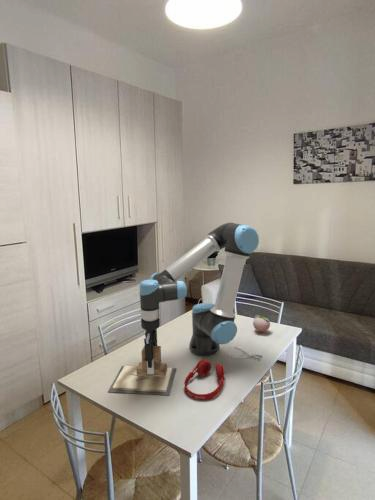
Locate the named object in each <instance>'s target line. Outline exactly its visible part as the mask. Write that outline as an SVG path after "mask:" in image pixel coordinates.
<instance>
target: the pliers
mask: <svg viewBox="0 0 375 500" xmlns="http://www.w3.org/2000/svg"><path fill="white" fill-rule="evenodd" d="M234 349H236V350H240V351H242V354H240V355H238V356H237V355H232V354H231V355H229V354H228V355H227V357H229V358H231V359H232V358H233V359H240V360H242V359H253V360H256V359H257V361H261V359H262V358H263V354H260V353H256V352H255V353H254V352H250V351H249V350H247V349H244V348H241V347H237V346H234Z"/></svg>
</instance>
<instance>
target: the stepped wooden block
mask: <svg viewBox="0 0 375 500" xmlns="http://www.w3.org/2000/svg"><path fill="white" fill-rule="evenodd" d="M161 347H162V346H161V345H157V346H153V359H154V374H147V361H145V344H144V345H143V347H142V349H141V362H138V364H137V369H136V370H137V375H142V376H161V377H165V376H166V372H167V368H168V364H167V363H165V362H163V363H162V348H161Z"/></svg>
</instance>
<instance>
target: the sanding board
mask: <svg viewBox="0 0 375 500" xmlns="http://www.w3.org/2000/svg"><path fill="white" fill-rule="evenodd" d="M137 366H138V365H137ZM137 366H135V365H121V367H120V369H119V371H118V373H117V375H116V376H115V378H114V380H113V382H112V384H111V385H110V387H109V388H108V391H107V393H109V394H110V393H111V394H112V393H113V394H128V395H132V394H133V395H147V396H148V395H151V396H166V397H169V396H170V395H171V392H172V387H173V383H174V379H175V375H176V371H177V368H176V367H167V372H166V376H165V377H161V376H142V375H137V370H136V369H137Z"/></svg>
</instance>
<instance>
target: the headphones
mask: <svg viewBox="0 0 375 500" xmlns="http://www.w3.org/2000/svg"><path fill="white" fill-rule="evenodd" d="M211 370H212V363H211V361H209V360H208V359H204V358H203V359H200V361H199V360H198V363H197V364H196V366H195V367H194V368H193V369H192V371H190V372H189V373H188V374H187V376H186V377H185V380H184V382H183V384H184V390H185V391H184V392H185V394H186V395H187V396H188V397H190V398H191V399H194V400H197V401H207V400H211V399H213V398H215V397H216V396H218V395H219V393H220V392H221V390H222V388H223V386H224V382H225V381H226V378H225V369H224V364H223V363H222V364H221V363H220V362H219V363H217V362H216V364H215V373H216V379H217V381H218V386H217V387H216V388H215V389H214V390H213V391H211V392H208V393H205V394H204V393H202V394H201V393H195V392H192V391H191V390H189V389H188V387H187V385H188V383H189V382H190V380H191V379H193V378H194V376H195V374H197V375H198V376H200V377H206V376H207V375H208V374H209V373H210V372H211Z"/></svg>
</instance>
